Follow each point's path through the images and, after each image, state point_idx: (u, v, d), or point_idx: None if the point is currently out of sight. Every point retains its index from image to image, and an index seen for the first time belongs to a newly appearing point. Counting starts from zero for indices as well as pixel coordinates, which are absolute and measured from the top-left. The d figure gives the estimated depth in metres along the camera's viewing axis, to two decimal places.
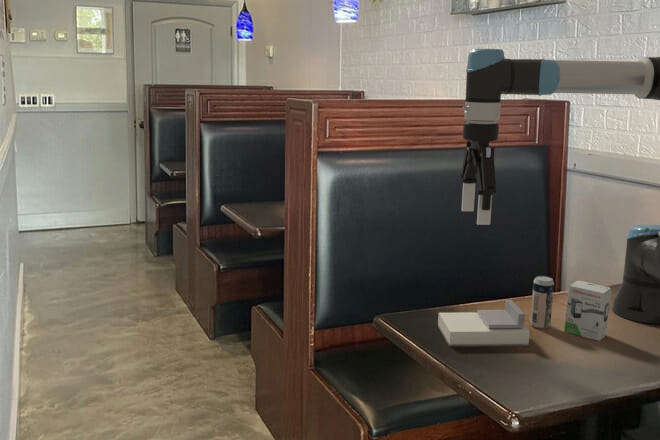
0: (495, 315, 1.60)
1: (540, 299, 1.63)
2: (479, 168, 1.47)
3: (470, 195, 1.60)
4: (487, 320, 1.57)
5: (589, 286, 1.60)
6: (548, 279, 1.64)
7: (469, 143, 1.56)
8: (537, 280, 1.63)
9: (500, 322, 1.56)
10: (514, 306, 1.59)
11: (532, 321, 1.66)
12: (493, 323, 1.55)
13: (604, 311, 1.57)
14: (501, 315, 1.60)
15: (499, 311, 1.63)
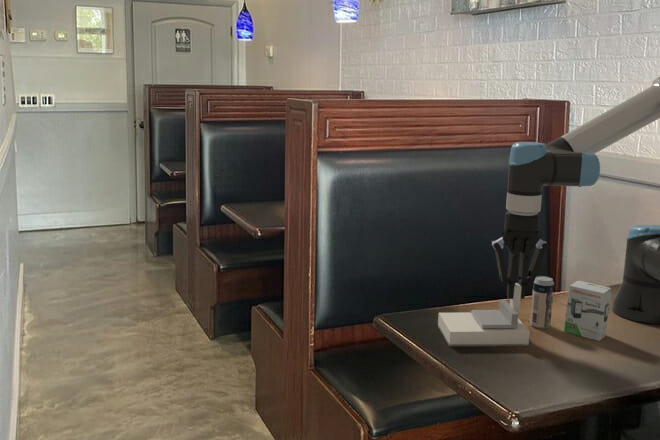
0: (489, 315, 1.60)
1: (540, 299, 1.63)
2: None
3: None
4: (481, 320, 1.57)
5: (589, 286, 1.60)
6: (548, 279, 1.64)
7: None
8: (537, 280, 1.63)
9: (494, 322, 1.56)
10: (508, 306, 1.59)
11: (532, 321, 1.66)
12: (486, 323, 1.55)
13: (604, 311, 1.57)
14: (495, 316, 1.60)
15: (493, 311, 1.63)
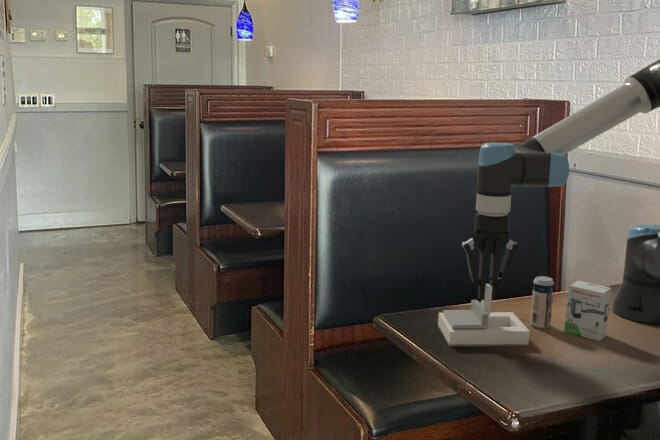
0: (460, 315, 1.60)
1: (540, 299, 1.63)
2: None
3: None
4: (451, 320, 1.56)
5: (589, 286, 1.60)
6: (548, 279, 1.64)
7: None
8: (537, 280, 1.63)
9: (465, 322, 1.55)
10: (479, 306, 1.58)
11: (532, 321, 1.66)
12: (457, 323, 1.55)
13: (604, 311, 1.57)
14: (466, 316, 1.59)
15: (465, 311, 1.62)
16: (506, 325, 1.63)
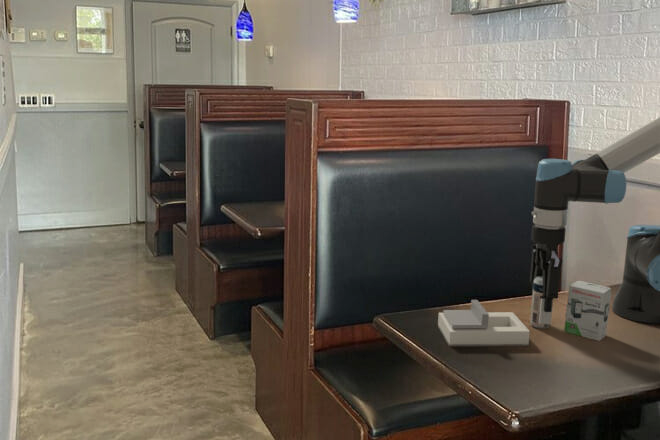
0: (460, 315, 1.60)
1: (540, 299, 1.63)
2: (545, 272, 1.61)
3: None
4: (451, 320, 1.56)
5: (589, 286, 1.60)
6: None
7: (535, 246, 1.68)
8: (537, 280, 1.63)
9: (465, 322, 1.55)
10: (479, 306, 1.58)
11: (532, 321, 1.66)
12: (457, 323, 1.55)
13: (604, 311, 1.57)
14: (466, 316, 1.59)
15: (465, 311, 1.62)
16: (506, 325, 1.63)
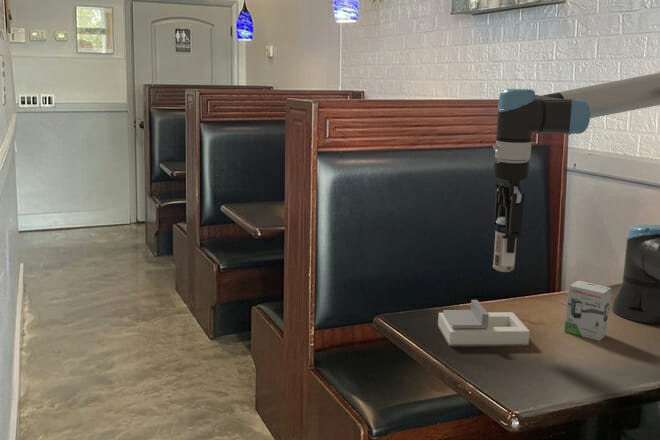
0: (460, 315, 1.60)
1: (502, 240, 1.53)
2: (507, 210, 1.51)
3: None
4: (451, 320, 1.56)
5: (589, 286, 1.60)
6: None
7: (498, 185, 1.58)
8: (499, 220, 1.53)
9: (465, 322, 1.55)
10: (479, 306, 1.58)
11: (495, 264, 1.56)
12: (457, 323, 1.55)
13: (604, 311, 1.57)
14: (466, 316, 1.59)
15: (465, 311, 1.62)
16: (506, 325, 1.63)
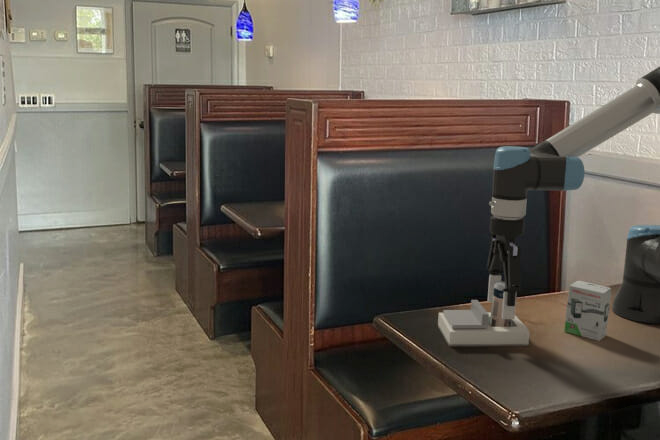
0: (460, 315, 1.60)
1: (500, 305, 1.57)
2: (505, 264, 1.52)
3: None
4: (451, 320, 1.56)
5: (589, 286, 1.60)
6: None
7: (494, 234, 1.61)
8: (497, 285, 1.57)
9: (465, 322, 1.55)
10: (479, 306, 1.58)
11: None
12: (457, 323, 1.55)
13: (604, 311, 1.57)
14: (466, 316, 1.59)
15: (465, 311, 1.62)
16: None
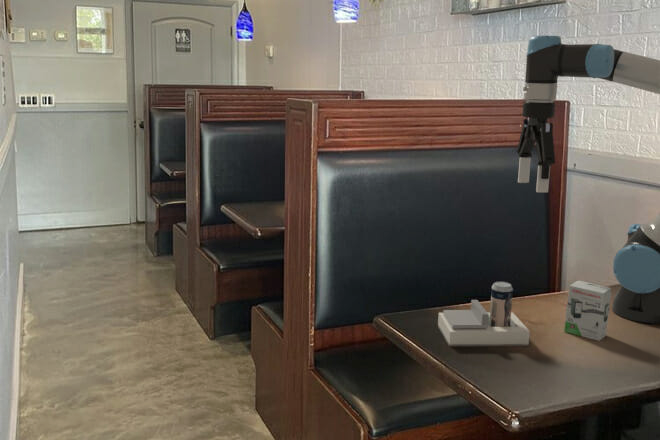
0: (460, 315, 1.60)
1: (498, 306, 1.57)
2: (538, 142, 1.65)
3: (526, 168, 1.78)
4: (451, 320, 1.56)
5: (589, 286, 1.60)
6: (506, 285, 1.57)
7: (526, 121, 1.74)
8: (495, 286, 1.57)
9: (465, 322, 1.55)
10: (479, 306, 1.58)
11: None
12: (457, 323, 1.55)
13: (604, 311, 1.57)
14: (466, 316, 1.59)
15: (465, 311, 1.62)
16: None
